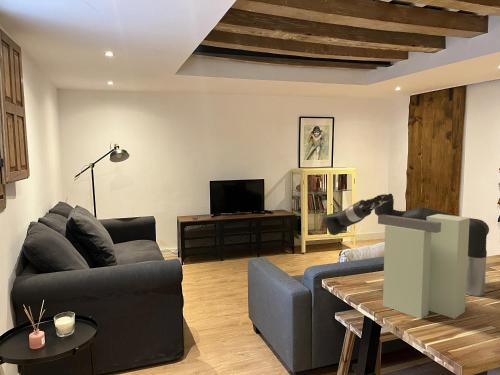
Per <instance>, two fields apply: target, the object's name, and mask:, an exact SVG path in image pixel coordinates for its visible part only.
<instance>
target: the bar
mask: <svg viewBox="0 0 500 375" xmlns="http://www.w3.org/2000/svg"><path fill="white" fill-rule="evenodd" d="M377 224H379V225H384V226H385V225H390V226H396V227H402V228H408V229H415V230H421V231H427V232H433V233H438V232H441V222H434V221H427V220H420V219H413V218H405V217H398V216H391V215H383V214H382V215H378V216H377Z"/></svg>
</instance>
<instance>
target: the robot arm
mask: <svg viewBox="0 0 500 375" xmlns="http://www.w3.org/2000/svg"><path fill="white" fill-rule="evenodd" d="M394 199H395V198H394V196H393V194H392V193H388V194H387V193H383V194H379V195H378V194H377V195H376V196H374V197H373V198H372V197H371V198H369V199H366V200H365V199H360V200H359V201H357V202H355V203H353V204H351V205H350V206H348V207H347V208H345V209H344V210H341V211H338V212H334V213H333V212H332V213H329V214H327V215H325V216H324V218H323V223H324V225H325V226H326V228H327V232H328V233H329V235H332V236H337V235H339V234H340V233H342V232H343V231H344V230H345V229H347V228H349V227H350V226H353V225H356V224H358V223H360V222H361V221H363V220H364V219H365V218H366V217H368V216H370V215H371V214H372V211H373V210H374V214H375V215H376V216H377V217H378V215H382V214H383V215H391V216H398V217H405V218H413V219H420V220H427V217H428V216H432V215H436V214H443V215H451V216H455V214H454V215H453V214H450V213H448V212H444V211H440V210H437V209H434V208H429V207H422V206H419V207H418V206H417V207H415V208H411V209H408V210H397V209H394V204H395V201H394ZM469 218H470V220H469V241H468V261H467V281H466V295H469V296H472V297H473V296H474V297H483V296H485V293H486V292H485V291H486V274H487V256H488V252H487V235H488V234H489V233H490V227H489V225H488V224H487V222H486V221H484V220H482V219H480V218H479V219H478V218H471V217H469Z"/></svg>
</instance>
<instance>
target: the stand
mask: <svg viewBox="0 0 500 375" xmlns="http://www.w3.org/2000/svg"><path fill="white" fill-rule="evenodd" d="M451 215H452V214H451ZM451 215H443V214H436V215H432V216H428V217H427V221H434V222H441V232H438V233H433V232H432V234H431V259H430V285H429V310H428V312H429V311H430V312H433V313H434V314H435V313H436V314H439V315H442V316H445V317H446V318H447V317H448V318H452V319H456V318H458V317H459V316H461V315H462V314H463V313H465V312H466V297H467V294H466V281H467V261H468V241H469V220H470V218H471V217H465V216H459V215H454V216H451Z"/></svg>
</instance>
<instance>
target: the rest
mask: <svg viewBox="0 0 500 375" xmlns="http://www.w3.org/2000/svg"><path fill="white" fill-rule="evenodd" d="M431 234H432V232H427V231H421V230H415V229H408V228H402V227H396V226H390V225H384V249H383V250H384V252H383V254H384V255H383V257H384V258H383V288H382V290H383V291H382V292H383V293H382V307H385V308H388V307H389V308H388V309H390V310H393V309H394V311H396V310H397V311H396V312H400V313H402V314H406V315H408V316H410V317H414V318H417V319H419V320H422V319H424V318H425V317H427V316H428V315H429V285H430V259H431Z"/></svg>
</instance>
